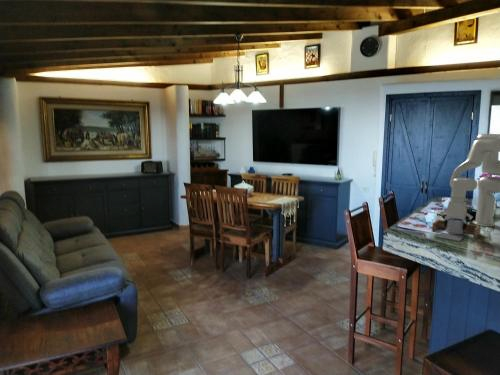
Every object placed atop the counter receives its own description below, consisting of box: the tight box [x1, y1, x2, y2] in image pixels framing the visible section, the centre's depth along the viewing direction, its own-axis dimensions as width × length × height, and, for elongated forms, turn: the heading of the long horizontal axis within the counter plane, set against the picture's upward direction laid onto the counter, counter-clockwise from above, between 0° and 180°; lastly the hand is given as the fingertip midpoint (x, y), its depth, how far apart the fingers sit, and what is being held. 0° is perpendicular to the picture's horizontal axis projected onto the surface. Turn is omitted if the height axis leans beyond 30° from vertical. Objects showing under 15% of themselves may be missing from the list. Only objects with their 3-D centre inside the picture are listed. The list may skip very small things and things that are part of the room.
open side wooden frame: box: [431, 219, 480, 239], centre depth 229 cm, size 12×23×5 cm, turn 51°
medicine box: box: [445, 218, 464, 235], centre depth 227 cm, size 8×4×9 cm, turn 84°
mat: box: [436, 232, 465, 242], centre depth 219 cm, size 12×12×1 cm
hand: (454, 227), depth 227 cm, fingers closed on medicine box, 9 cm apart
